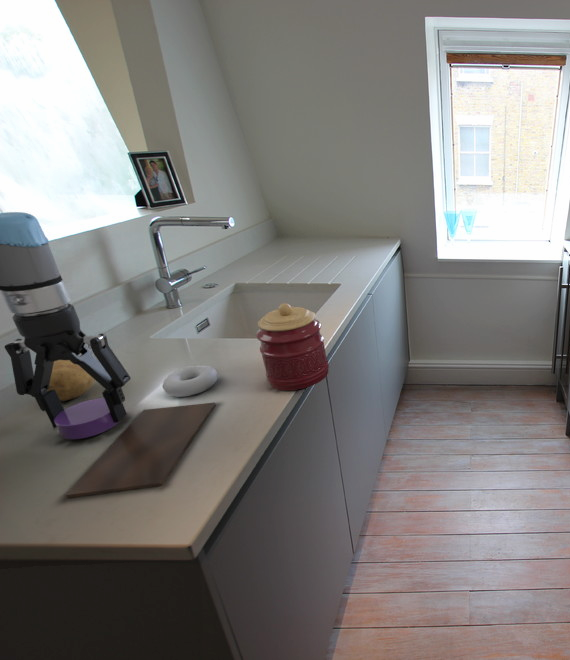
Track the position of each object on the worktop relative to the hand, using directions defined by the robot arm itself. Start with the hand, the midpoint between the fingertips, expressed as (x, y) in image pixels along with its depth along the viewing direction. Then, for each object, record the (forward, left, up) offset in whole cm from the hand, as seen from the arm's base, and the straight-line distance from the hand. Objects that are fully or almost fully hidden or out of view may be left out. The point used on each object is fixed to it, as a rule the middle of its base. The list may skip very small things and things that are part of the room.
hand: (91, 420), depth 83 cm
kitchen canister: (+34, +12, -2) cm, 36 cm away
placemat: (+13, -8, -1) cm, 16 cm away
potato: (-12, +14, -2) cm, 18 cm away
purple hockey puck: (0, 0, -1) cm, 1 cm away
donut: (+12, +12, -2) cm, 17 cm away
